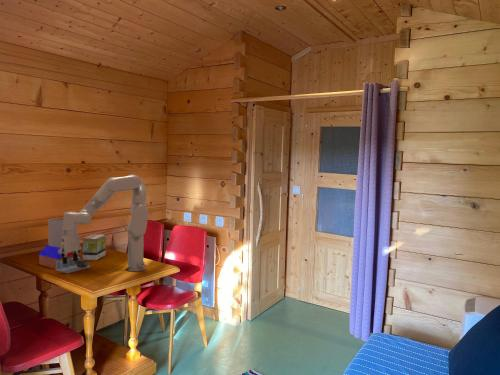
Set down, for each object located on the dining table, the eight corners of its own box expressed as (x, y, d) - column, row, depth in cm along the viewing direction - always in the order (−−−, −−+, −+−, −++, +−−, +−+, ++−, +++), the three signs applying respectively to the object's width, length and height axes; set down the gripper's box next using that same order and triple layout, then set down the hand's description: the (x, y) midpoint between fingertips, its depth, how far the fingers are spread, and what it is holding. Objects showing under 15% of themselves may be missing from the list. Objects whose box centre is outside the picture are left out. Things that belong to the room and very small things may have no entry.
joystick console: (90, 267, 244) (90, 258, 243) (67, 273, 230) (67, 264, 229) (78, 264, 249) (78, 256, 248) (55, 270, 235) (55, 261, 234)
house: (55, 261, 257) (55, 243, 256) (76, 265, 247) (76, 247, 246) (38, 265, 246) (38, 246, 245) (58, 270, 236) (58, 251, 236)
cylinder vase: (48, 254, 273) (48, 218, 272) (67, 252, 279) (67, 217, 277) (48, 258, 262) (48, 221, 261) (69, 256, 268) (69, 220, 266)
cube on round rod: (89, 266, 241) (89, 260, 241) (84, 268, 237) (84, 261, 237) (78, 264, 246) (78, 258, 246) (72, 265, 242) (72, 259, 242)
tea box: (97, 260, 260) (97, 238, 259) (82, 260, 261) (82, 238, 260) (106, 255, 275) (106, 234, 274) (91, 254, 276) (91, 233, 275)
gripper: (61, 235, 223) (61, 266, 224) (87, 231, 238) (86, 260, 240) (53, 233, 227) (52, 264, 228) (78, 229, 242) (78, 258, 243)
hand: (70, 262), depth 234 cm, fingers open, 6 cm apart
